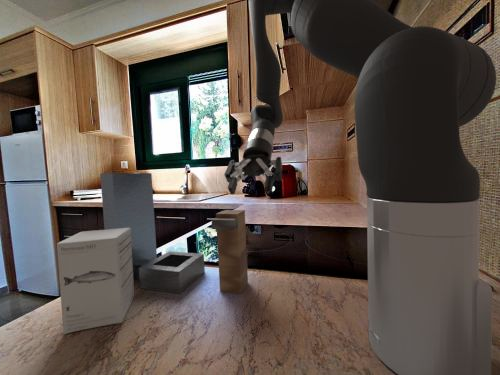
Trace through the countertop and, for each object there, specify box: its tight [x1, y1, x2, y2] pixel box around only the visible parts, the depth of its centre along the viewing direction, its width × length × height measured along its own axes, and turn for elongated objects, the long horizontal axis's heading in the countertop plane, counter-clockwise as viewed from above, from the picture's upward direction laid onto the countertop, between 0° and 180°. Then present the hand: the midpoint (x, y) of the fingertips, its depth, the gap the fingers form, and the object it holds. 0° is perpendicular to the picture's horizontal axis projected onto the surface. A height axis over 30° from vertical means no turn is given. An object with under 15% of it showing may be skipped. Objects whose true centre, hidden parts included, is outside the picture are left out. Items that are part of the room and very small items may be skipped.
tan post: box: [211, 209, 249, 295], centre depth 38 cm, size 4×6×14 cm
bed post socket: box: [99, 172, 206, 295], centre depth 44 cm, size 16×10×22 cm, turn 73°
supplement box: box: [56, 228, 135, 335], centre depth 33 cm, size 7×7×13 cm
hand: (248, 192), depth 49 cm, fingers open, 8 cm apart
